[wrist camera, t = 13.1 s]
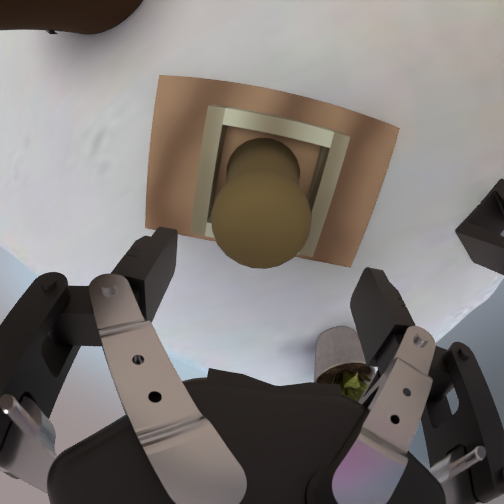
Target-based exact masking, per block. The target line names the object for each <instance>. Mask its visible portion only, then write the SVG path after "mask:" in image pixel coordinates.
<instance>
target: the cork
mask: <svg viewBox="0 0 504 504" xmlns="http://www.w3.org/2000/svg"><path fill="white" fill-rule="evenodd" d="M299 179H300V168H299V164H298V160H297V158H296V156H295V155H294V153H293V152H292V150H291V149H290V148H288V147H287V146H286V145H285V144H283V143H282V142H280V141H277V140H274V139H271V138H255V139H252V140H248V141H246V142H244V143H243V144H241V145H240V146H238V147H237V148H236V149H235V151H234V152H233V153H232V155H231V156H230V158H229V161H228V164H227V167H226V184H225V186H224V187H223V188H222V190H221V191H220V192H219V194H218V195H217V197H216V199H215V202H214V205H213V208H212V211H211V224H212V232H213V234H214V237H215V239H216V242H217V244H218V246H219V247H220V248H221V249H222V250H223V252H224V253H225V254H226V255H227V256H228V257H230V258H231V259H233V260H234V261H236V262H238V263H239V264H242V265H245V266H248V267H251V268H263V269H266V268H271V267H275V266H279V265H281V264H283V263H285V262H287V261H289V260H290V259H292V258H294V257H295V256H296V255H297V254H298V253H299V252H300V251H301V250H302V249H303V247H304V245H305V243H306V241H307V239H308V237H309V234H310V229H311V221H312V215H311V211H310V206H309V202H308V200H307V198H306V196H305V195H304V193H303V192H302V190H301V188H300V187H299Z"/></svg>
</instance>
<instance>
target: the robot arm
mask: <svg viewBox="0 0 504 504" xmlns="http://www.w3.org/2000/svg"><path fill="white" fill-rule="evenodd" d="M177 237H178V231H177V229H172V228H166V227H161V226H159V227H158V228H157V230H156V231H155V232H154V234H153V235H152V237H150V236H144V237H142V238H140V239H138V240H136V241H135V242H134V244H133V245H132V246H131V248H130V249H129V250H128V251H127V253H126V255H124V257H123V258H122V259H121V260H120V262H119V263H118V264H117V266H116V267H115V268H114V270H113V271H112V272H111V274H103V275H100V276H98V277H96V278H94V279H93V280H92V281H91V283H90V285H89V286H68V281H67V278H66V277H65V276H64V275H63V274H61V273H57V272H49V273H45V274H43V275H41V276H39V277H38V278H36V279H35V280H34V282H33V283H32V284H31V285H30V286H29V288H28V289H27V290H26V292H25V293H24V294H23V295H22V297H21V298H20V299H19V300H18V302H17V303H16V304H15V306H14V307H13V308H12V310H11V311H10V312H9V314H8V315H7V317H6V318H5V319H4V321H3V322H2V324H1V325H0V471H2V472H4V473H6V474H7V475H9V476H11V477H13V478H15V479H21V480H23V481H25V482H27V483H28V484H30V485H32V486H34V487H36V488H38V489H40V490H42V491H43V492H45V493H48V496H49V500H50V504H485V503H487V502H489V501H491V500H493V499H495V498H497V497H499V496H500V495H502V494H504V430H503V426H502V423H501V420H500V418H499V414H498V412H497V409H496V406H495V404H494V401H493V398H492V396H491V393H490V390H489V388H488V386H487V383H486V381H485V378H484V376H483V374H482V371H481V369H480V367H479V365H478V362H477V360H476V358H475V356H474V354H473V352H472V351H471V349H470V348H469V347H467V346H466V345H465V344H463V343H461V342H454V343H453V344H452V345H451V346H450V347H449V349H448V350H446V349H443V348H440V347H438V346H436V343H435V340H434V338H433V337H432V335H431V334H430V333H429V332H428V331H426V330H425V329H423V328H421V327H418V326H415V324H414V321H413V319H412V317H411V315H410V313H409V311H408V309H407V307H405V306H406V305H405V303H404V301H403V300H402V297H401V295H400V293H399V292H398V290H397V289H396V288H395V287H394V286H393V285H392V284H391V283H390V282H389V280H388V279H387V277H386V275H385V273H384V271H383V270H379V269H374V268H369V267H367V268H365V269H364V271H363V273H362V275H361V277H360V280H359V282H358V284H357V286H356V288H355V290H354V292H353V295H352V297H351V302H350V308H351V312H352V315H353V319H354V322H355V326H356V329H357V333H358V336H359V340H360V343H361V347H362V351H363V354H364V358H365V362H366V366H374V367H378V370H377V372H376V373H375V374H374V376H373V378H372V379H371V381H370V383H369V385H368V386H367V388H366V390H365V391H364V393H363V395H362V396H361V398H360V399H359V401H358V402H357V401H356V400H354V399H352V398H350V397H347V396H345V395H342V394H341V390H340V384H324V383H311V382H309V383H302V384H294V385H286V386H275V385H271V384H269V383H266V382H263V381H260V380H257V379H255V378H252V377H249V376H246V375H244V374H239V373H233V372H227V371H221V370H216V369H211V368H209V371H208V376H207V378H195V379H190V380H185V381H181V379H180V377H179V376H178V374H177V372H176V370H175V368H174V366H173V365H172V363H171V361H170V359H169V357H168V355H167V353H166V351H165V349H164V347H163V345H162V343H161V341H160V339H159V337H158V335H157V333H156V331H155V329H154V327H153V325H152V321H153V318H154V316H155V314H156V312H157V309H158V307H159V305H160V303H161V301H162V298H163V296H164V294H165V292H166V290H167V288H168V285H169V283H170V281H171V279H172V277H173V274H174V271H175V266H176V253H177ZM81 346H102V348H103V351H104V354H105V358H106V361H107V364H108V367H109V370H110V373H111V376H112V379H113V382H114V385H115V387H116V390H117V393H118V395H119V398H120V400H121V403H122V406H123V409H124V411H125V413H126V415H124V416H123V417H121V418H120V419H118V420H116V421H115V422H113V423H111V424H110V425H108V426H106V427H105V428H103V429H101V430H100V431H98V432H96V433H95V434H93V435H91V436H89V437H88V438H86V439H84V440H82V441H81V442H79V443H77V444H75V445H73V446H72V447H70V448H68V449H66V450H64V451H63V452H62V453H61V454H59V456H58V457H57V456H56V453H55V448H54V447H55V446H54V444H55V438H56V434H55V429H54V426H53V424H52V423H51V421H50V420H49V417H50V415H51V412H52V409H53V407H54V405H55V402H56V400H57V397H58V394H59V393H60V390H61V388H62V385H63V383H64V381H65V379H66V376H67V374H68V372H69V370H70V368H71V365H72V363H73V361H74V359H75V357H76V355H77V353H78V351H79V349H80V347H81ZM453 388H455V391H456V394H457V396H458V399H459V407H458V410H457V411H456V413H455V414H453V415H452V413H451V410H450V406H449V403H448V400H447V397H446V395H447V394H448V392H450V391H451V390H452V389H453ZM420 419H421V421H422V426H423V431H424V436H425V440H426V445H427V450H428V456H429V462H430V468H431V469H430V472H429V471H428V470H427V469H426V468H425V467H424V466H423V465H422V464H421V463H420V462H419V461H418V460H417V459H416V458H415V457H414V456H413V455H412V454H411V453H410V452H409V451H408V449H409V447H410V444H411V442H412V439H413V437H414V434H415V432H416V429H417V427H418V424H419V421H420Z"/></svg>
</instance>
